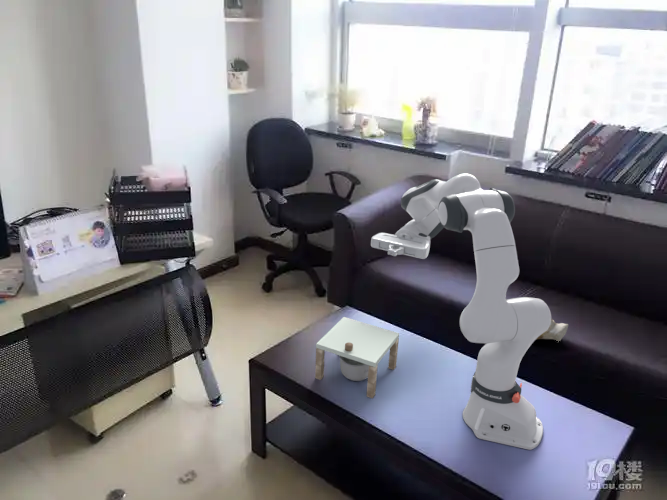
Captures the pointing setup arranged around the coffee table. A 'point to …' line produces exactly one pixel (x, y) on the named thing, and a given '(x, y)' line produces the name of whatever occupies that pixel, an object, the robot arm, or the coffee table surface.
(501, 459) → the coffee table surface
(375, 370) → the stand
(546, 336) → the ceramic sculpture
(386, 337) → the lid
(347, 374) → the teacup
